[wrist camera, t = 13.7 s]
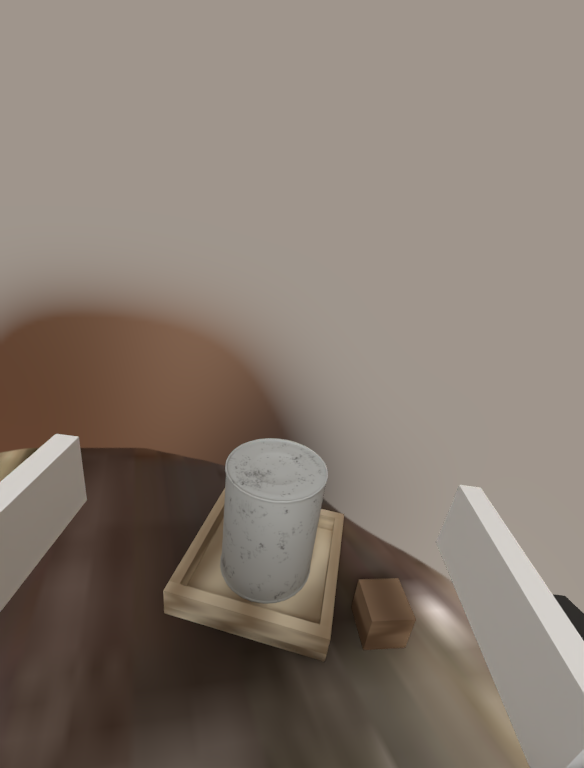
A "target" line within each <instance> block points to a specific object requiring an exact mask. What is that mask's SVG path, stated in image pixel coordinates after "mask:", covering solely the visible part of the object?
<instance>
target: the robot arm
mask: <svg viewBox="0 0 584 768" xmlns="http://www.w3.org/2000/svg"><path fill="white" fill-rule="evenodd" d="M86 500H87V497H86V489H85V481H84V473H83V465H82V457H81V449H80V441H79V437H77V436H69V435H61V434H55V435H54V436H53V437H52V438H51V439H49V440H48V441H47V442H46V443H45V444H43V445H42V446H41V447H40V448H39V449H38V450H37V451H35V452H34V453H33V454H32V455H31V456H30V457H28V458H27V459H26V460H25V461H24V462H23V463H21V464H20V465H19V466H18V467H17V468H16V469H15V470H13V471H12V472H11V473H10V474H9V475H8V476H6V477H5V478H4V479H3V480H2V481H1V482H0V612H1V610H2V609H3V608H4V606H5V605H6V604H7V603H8V601H9V600H10V599H11V597H12V596H13V595H14V594H15V592H16V591H17V590H18V588H19V587H20V586H21V585H22V583H23V582H24V581H25V579H26V578H27V577H28V575H29V574H30V573H31V572H32V570H33V569H34V568H35V566H36V565H37V564H38V563H39V561H40V560H41V559H42V557H43V556H44V555H45V553H46V552H47V551H48V550H49V548H50V547H51V546H52V544H53V543H54V542H55V541H56V539H57V538H58V537H59V535H60V534H61V533H62V531H63V530H64V529H65V528H66V526H67V525H68V524H69V522H70V521H71V520H72V519H73V517H74V516H75V515H76V513H77V512H78V511H79V509H80V508H81V507H82V506H83V504H84V503H85V502H86ZM436 543H437V546H438V549H439V551H440V553H441V555H442V558H443V561H444V563H445V565H446V568H447V570H448V573H449V575H450V577H451V580H452V582H453V585H454V587H455V589H456V592H457V594H458V597H459V599H460V601H461V604H462V606H463V609H464V611H465V613H466V616H467V618H468V620H469V623H470V625H471V628H472V630H473V632H474V635H475V637H476V640H477V642H478V644H479V647H480V649H481V652H482V654H483V656H484V659H485V661H486V664H487V666H488V668H489V671H490V673H491V676H492V678H493V680H494V683H495V685H496V687H497V690H498V692H499V695H500V697H501V699H502V702H503V704H504V707H505V709H506V711H507V714H508V716H509V719H510V721H511V723H512V726H513V728H514V731H515V733H516V735H517V738H518V740H519V743H520V745H521V747H522V750H523V752H524V755H525V757H526V759H527V762H528V764H529V766H530V768H584V613H582V612H581V611H580V610H579V609H578V608H577V607H576V606H575V605H574V604H573V603H572V602H571V601H570V600H569V599H568V598H566V597H565V596H561V595H553V594H552V593H551V592H550V590H549V589H548V587H547V586H546V584H545V583H544V581H543V580H542V578H541V577H540V575H539V574H538V572H537V571H536V569H535V568H534V566H533V565H532V563H531V562H530V560H529V559H528V557H527V556H526V554H525V553H524V551H523V550H522V548H521V547H520V546H519V544H518V542H517V541H516V539H515V538H514V537H513V535H512V533H511V532H510V531H509V529H508V528H507V526H506V525H505V523H504V522H503V520H502V519H501V517H500V516H499V514H498V513H497V511H496V510H495V508H494V507H493V505H492V504H491V503H490V501H489V499H488V498H487V496H486V495H485V493H484V492H483V490H482V489H481V488H480V487H472V486H464V485H459V487H458V489H457V491H456V494H455V496H454V499H453V501H452V504H451V506H450V509H449V511H448V514H447V516H446V519H445V521H444V523H443V526H442V528H441V531H440V533H439V536H438V538H437V541H436Z"/></svg>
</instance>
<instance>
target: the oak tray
mask: <svg viewBox="0 0 584 768" xmlns="http://www.w3.org/2000/svg"><path fill="white" fill-rule="evenodd" d="M224 503H225V489H224V490H223V492H222V494H221V495H220V497H219V499H218V500H217V502H216V504H215V505H214V507H213V509H212V510H211V512H210V514H209V515H208V517H207V519H206V520H205V522H204V524H203V525H202V527H201V529H200V530H199V532H198V534H197V535H196V537H195V539H194V540H193V542H192V544H191V545H190V547H189V549H188V550H187V552H186V554H185V555H184V557H183V559H182V560H181V562H180V564H179V565H178V567H177V569H176V570H175V572H174V574H173V575H172V577H171V579H170V580H169V582H168V584H167V585H166V587H165V589H164V590H163V594H164V613H166V614H169V615H172V616H175V617H179V618H182V619H185V620H189V621H192V622H195V623H198V624H202V625H205V626H208V627H212V628H215V629H218V630H221V631H225V632H228V633H231V634H235V635H238V636H241V637H244V638H248V639H251V640H254V641H258V642H261V643H264V644H267V645H271V646H274V647H277V648H281V649H284V650H287V651H290V652H294V653H297V654H300V655H304V656H307V657H310V658H313V659H317V660H320V661H323V662H325V659H326V655H327V651H328V647H329V643H330V638H331V629H332V620H333V611H334V602H335V593H336V583H337V574H338V565H339V556H340V547H341V538H342V529H343V520H344V514H341V513H336V512H332V511H328V510H324V509H321V511H320V517H319V522H318V527H317V532H316V538H315V543H314V548H313V554H312V559H311V564H310V573H309V576H308V579H307V582H306V583H305V585H304V586H303V588H302V589H301V590H300V591H299V592H298V593H296V594H295V595H294V596H292V597H290V598H289V599H287V600H285V601H281V602H277V603H269V604H262V603H256V602H251V601H249V600H246V599H244V598H242V597H240V596H239V595H237V594H236V593H235V592H233V591H232V590H231V588H230V587H229V586H228V585H227V584H226V582H225V580H224V578H223V576H222V573H221V568H220V560H221V554H222V540H223V522H224Z"/></svg>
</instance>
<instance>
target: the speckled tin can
mask: <svg viewBox="0 0 584 768" xmlns="http://www.w3.org/2000/svg"><path fill="white" fill-rule="evenodd" d="M225 472H226V485H225V503H224V522H223V540H222V554H221V560H220V568H221V573H222V576H223V578H224V580H225V582H226V584H227V585H228V586H229V587H230V588H231V590H232V591H233V592H235V593H236V594H237V595H239V596H240V597H242V598H244V599H246V600H249V601H251V602H256V603H262V604H269V603H277V602H281V601H285V600H287V599H289V598H290V597H292V596H294V595H295V594H296V593H298V592H299V591H300V590H301V589H302V588H303V586H304V585H305V583H306V582H307V579H308V576H309V573H310V564H311V559H312V554H313V548H314V543H315V538H316V532H317V527H318V522H319V517H320V511H321V506H322V501H323V496H324V490H325V485H326V482H327V480H328V469H327V467H326V464H325V462H324V461H323V459H322V458H321V457H320V456H319V455H318V454H317V453H316V452H315V451H313V450H311V449H310V448H308V447H306V446H304V445H302V444H299V443H297V442H293V441H289V440H283V439H273V438H267V439H257V440H253V441H249V442H247V443H244V444H242V445H240V446H238V447H237V448H235V449H234V450H233V451H232V452H231V453H230V455H229V456H228V458H227V461H226V466H225Z"/></svg>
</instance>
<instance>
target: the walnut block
mask: <svg viewBox="0 0 584 768" xmlns="http://www.w3.org/2000/svg"><path fill="white" fill-rule="evenodd" d="M351 608H352V612H353V615H354V619H355V622H356V626H357V629H358V633H359V637H360V640H361V644H362V647H363V650H371V649H388V648H405V646H406V644H407V641H408V639H409V636H410V633H411V631H412V628H413V626H414V623H415V621H416V618H415V616H414V614H413V611H412V609H411V607H410V604H409V602H408V600H407V598H406V595H405V593H404V591H403V588H402V586H401V584H400V581H399V579H398V578H394V579H359V580H358V584H357V588H356V591H355V595H354V599H353V602H352V606H351Z"/></svg>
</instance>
